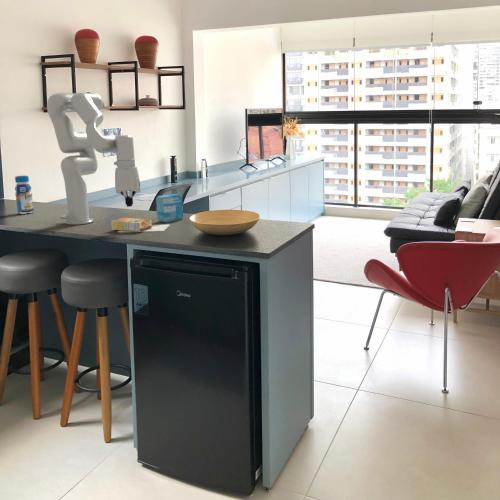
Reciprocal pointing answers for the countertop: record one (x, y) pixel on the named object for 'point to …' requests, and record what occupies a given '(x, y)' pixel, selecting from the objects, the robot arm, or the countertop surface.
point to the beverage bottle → (23, 194)
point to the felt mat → (154, 228)
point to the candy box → (131, 224)
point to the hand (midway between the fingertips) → (129, 206)
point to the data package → (169, 208)
